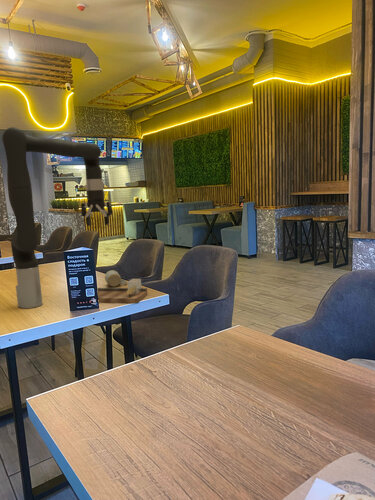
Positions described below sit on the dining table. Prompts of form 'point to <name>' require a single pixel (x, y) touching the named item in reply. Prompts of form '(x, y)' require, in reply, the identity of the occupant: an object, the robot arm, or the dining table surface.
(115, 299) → the walnut board
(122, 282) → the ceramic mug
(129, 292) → the marking gauge
